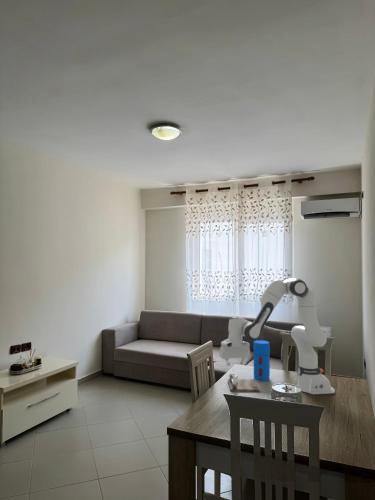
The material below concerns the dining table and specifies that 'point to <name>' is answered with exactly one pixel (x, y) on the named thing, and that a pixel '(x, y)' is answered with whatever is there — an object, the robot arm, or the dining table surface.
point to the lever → (234, 380)
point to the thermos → (261, 360)
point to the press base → (244, 386)
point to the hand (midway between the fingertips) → (234, 364)
